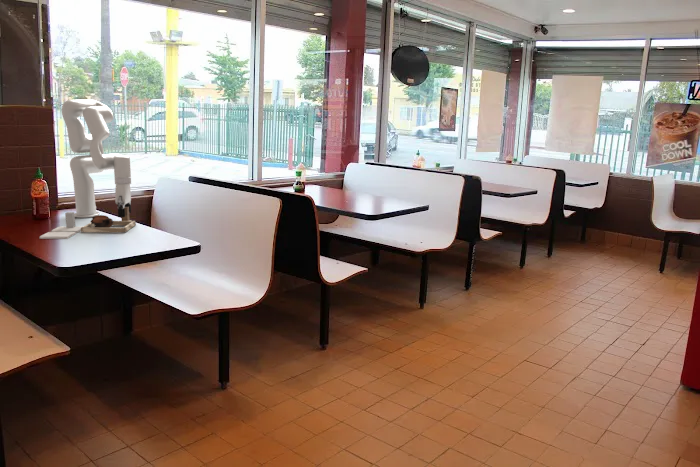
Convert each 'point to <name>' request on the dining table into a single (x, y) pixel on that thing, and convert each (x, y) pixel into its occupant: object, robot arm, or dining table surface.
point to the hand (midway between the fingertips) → (124, 214)
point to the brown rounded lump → (102, 221)
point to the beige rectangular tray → (124, 221)
